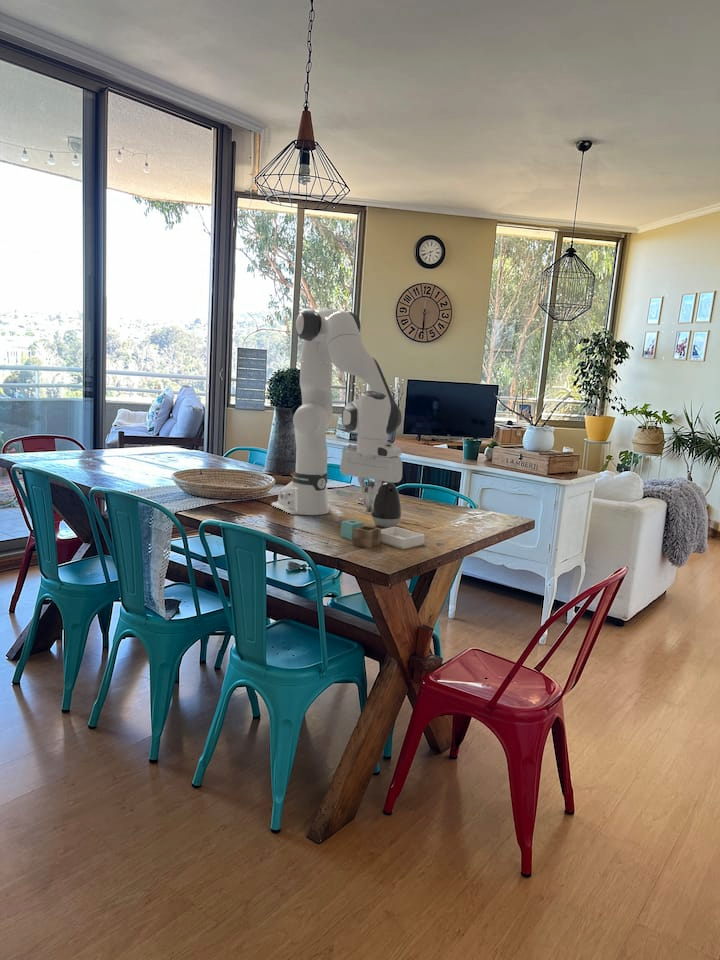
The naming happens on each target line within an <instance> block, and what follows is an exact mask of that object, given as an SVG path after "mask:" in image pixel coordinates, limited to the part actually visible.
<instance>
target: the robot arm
mask: <svg viewBox="0 0 720 960" xmlns="http://www.w3.org/2000/svg"><path fill="white" fill-rule="evenodd" d="M295 332H296V334H297V336H298V337H299V338H300V339H301V340H303V341H302V342H303V343H302V347H301V355H300V371H299V387H300V392H301V405H300V406H299V407H298V408H297V409H296V411H295V412H294V414H293V417H292V424H293V426H294V428H293V429H294V430H293V431H294V437H295V438H294V440H295V447H296V448H295V451H296V452H295V454H296V455H295V471H293V472H291V474H290V477H291V476H292V478H291V481H290V482H289V483H288V484H286V485H285V486H283V487H282V488H281V489H280V490H279V491H278V497H277V501H273V502H272V503H271V504H270V506H271V505H272V506H271V507H273V506H274V508H275V507H276V508H275V509H277V508H279V509H281V510H283V511H282V512H284V511H285V512H284V513H286V512H287V513H286V514H288V513H290V514H289V515H301V516H302V515H303V516H322V515H325V514H328V513H330V505H329V495H328V493H329V491H328V487H327V484H328V479H329V477H328V474H329V473H328V471H327V469H328V451H329V450H328V447H327V438H326V437H327V435H326V432H327V431H326V430H327V429H328V428H329V427H330V426H331V425H332V421H333V417H334V416H333V394H332V382H333V381H332V379H333V376H332V375H333V366H334V367H336V369H338V370H340V371H341V372H343V373H346V374H350V375H351V376H355V377H357V378H359V379H361V380H363V381H364V382H365V383H366V384H368V386H369V388H370V390H366V391H363V392H362V393H361V394H360V395H359V398H357V399H355V400H353V401H349V402H347V403H346V404H345V405H344V407H343V408H342V411H341V424H342V425H343V427H344V429H346V430H347V431H348V432H350V433H355V434H357V436H356V444H350V443H348V444H347V443H346V445H343V448H342V450H341V452H342V455H341V458H340V459H341V460H340V466H339V467H340V468H339V471H340V473H341V474H342V475H345V476H351V477H356V478H357V482H358V484H359V487H360V493H364V494H367V483H366V482H365V481H366V479H370V480H374V483H375V486H374V488H371V494H374V496H376V494H378V489H379V487H380V486H381V485H382V484H383V482H391V483H393V484H395V483H400V482H401V480H402V478H403V460H402V458H401V457H400V456H402V449H401V448H400V447H398V446H396V445H395V444H393V443H391V442H389V441H388V435H391V434H393V433H394V432H396V430H397V429H398V428H399V427H400V426H401V424H402V418H403V417H402V411H401V409H400V407H399V405H398V404H397V402H396V400H395V399H394V398H393V395H392V392H391V390H390V388H389V385H388V382H387V381H386V378H385V375H384V373H383V371H382V369H381V366H380V364H379V363H378V361H377V360H376V358H375V357H373V356H372V355H371V354H370V353H369V352H368V351H367V349H366V348H365V346H364V344H363V341H362V336H361V320H360V318H359V316H358V314H357V313H355V312H352V311H348V310H346V311H345V310H341V309H334V308H312V307H309V308H303V309H301V310H300V311H299V312H298V313H297V316H296V320H295ZM279 509H278V510H279ZM281 510H280V511H281Z"/></svg>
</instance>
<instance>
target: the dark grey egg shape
mask: <svg viewBox="0 0 720 960" xmlns="http://www.w3.org/2000/svg"><path fill="white" fill-rule="evenodd" d="M370 515H371V518H372V521H373V523H374V524H375V525H376V526H377V527H378V528H383V529H385V528H390V527H396V526H397V525H398V524H399V522H400V521H401V518H402V504H401V498H400V493H399V490H398V488H397V486H396V485H395V483H392V482H386V481H383V482H382V484H381V485H380V487H379V488H378V494H376V495H374V512H370Z"/></svg>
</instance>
